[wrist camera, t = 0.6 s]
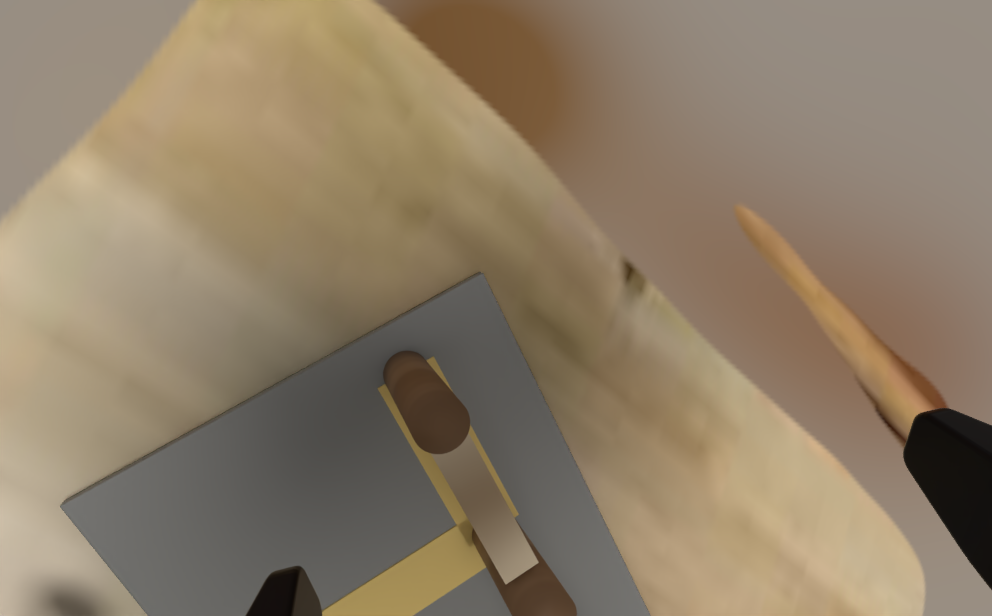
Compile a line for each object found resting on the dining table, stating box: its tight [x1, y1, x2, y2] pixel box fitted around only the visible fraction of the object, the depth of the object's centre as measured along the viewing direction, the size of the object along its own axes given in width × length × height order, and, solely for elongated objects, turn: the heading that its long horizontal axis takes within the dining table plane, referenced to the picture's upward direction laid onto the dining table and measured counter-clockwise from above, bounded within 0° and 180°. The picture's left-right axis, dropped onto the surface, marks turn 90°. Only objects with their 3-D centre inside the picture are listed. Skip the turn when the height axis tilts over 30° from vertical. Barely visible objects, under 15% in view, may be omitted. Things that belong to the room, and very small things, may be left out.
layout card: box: [60, 272, 650, 616], centre depth 23 cm, size 20×15×1 cm
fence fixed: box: [383, 351, 577, 616], centre depth 20 cm, size 9×2×6 cm, turn 26°
